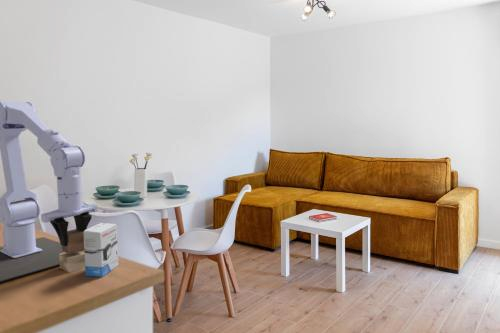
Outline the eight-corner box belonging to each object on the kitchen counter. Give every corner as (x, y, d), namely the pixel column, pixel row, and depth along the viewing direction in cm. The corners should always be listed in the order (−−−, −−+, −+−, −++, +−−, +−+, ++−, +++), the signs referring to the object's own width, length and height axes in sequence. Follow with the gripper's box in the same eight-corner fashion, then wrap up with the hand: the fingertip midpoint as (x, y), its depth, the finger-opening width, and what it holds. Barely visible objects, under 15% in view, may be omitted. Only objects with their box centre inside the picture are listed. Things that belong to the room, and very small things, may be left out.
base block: (59, 268, 107) (59, 253, 106) (77, 263, 111) (77, 249, 110) (69, 273, 104) (68, 258, 103) (87, 267, 108) (86, 253, 107)
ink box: (102, 277, 101) (100, 232, 99) (84, 276, 102) (82, 231, 100) (119, 265, 109) (117, 223, 108) (103, 263, 110) (101, 222, 108)
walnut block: (62, 250, 106) (61, 232, 106) (76, 246, 109) (75, 229, 109) (70, 254, 104) (69, 235, 103) (84, 250, 107) (83, 232, 106)
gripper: (49, 199, 97) (53, 253, 98) (103, 190, 108) (105, 239, 110) (35, 195, 101) (39, 247, 103) (88, 187, 112) (90, 234, 114)
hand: (72, 243), depth 106 cm, fingers closed on walnut block, 4 cm apart
